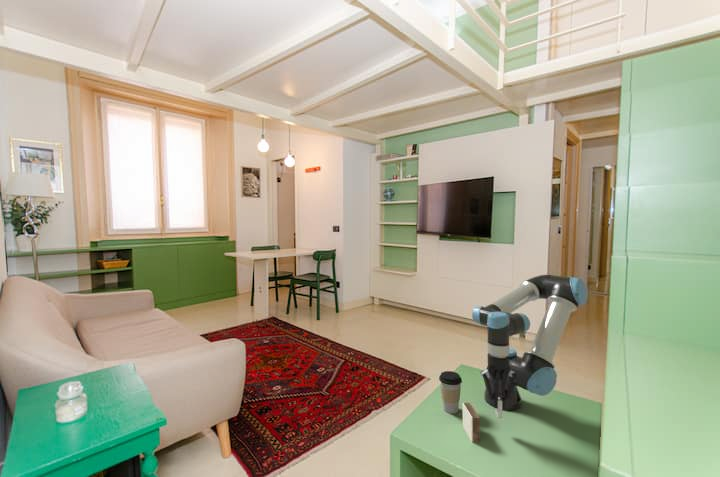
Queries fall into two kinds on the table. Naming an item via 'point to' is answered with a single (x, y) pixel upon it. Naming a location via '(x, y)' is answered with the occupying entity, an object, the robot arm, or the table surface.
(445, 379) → the coffee cup
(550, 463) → the table surface
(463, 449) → the table surface
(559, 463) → the table surface
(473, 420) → the wooden block
